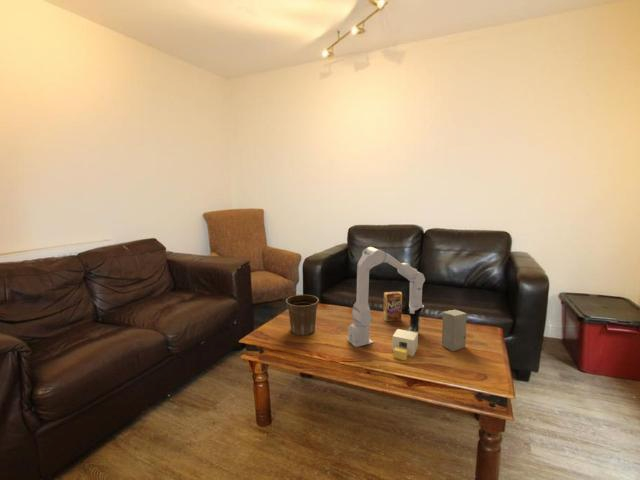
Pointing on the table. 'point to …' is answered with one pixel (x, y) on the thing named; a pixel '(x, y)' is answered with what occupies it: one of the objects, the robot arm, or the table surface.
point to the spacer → (400, 353)
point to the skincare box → (454, 329)
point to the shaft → (413, 328)
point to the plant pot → (302, 313)
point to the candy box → (392, 306)
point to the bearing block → (405, 341)
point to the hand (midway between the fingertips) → (414, 322)
